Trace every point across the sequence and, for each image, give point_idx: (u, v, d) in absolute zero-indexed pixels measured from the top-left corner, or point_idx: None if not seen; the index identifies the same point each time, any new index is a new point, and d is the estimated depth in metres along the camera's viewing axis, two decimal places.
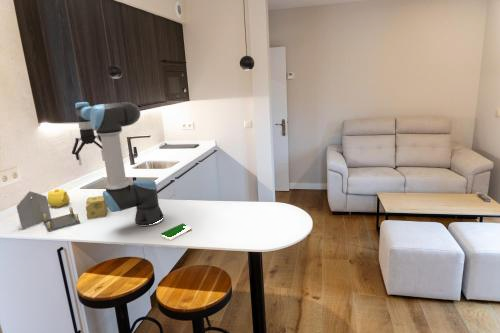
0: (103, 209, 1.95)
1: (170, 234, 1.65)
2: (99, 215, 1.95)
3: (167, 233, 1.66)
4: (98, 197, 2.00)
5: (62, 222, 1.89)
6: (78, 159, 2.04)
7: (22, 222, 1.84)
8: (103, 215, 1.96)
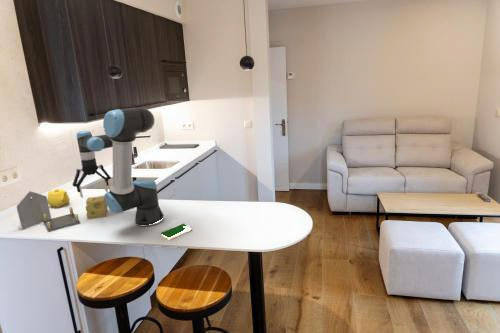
0: (103, 209, 1.95)
1: (169, 234, 1.65)
2: (99, 215, 1.95)
3: (166, 233, 1.67)
4: (98, 197, 2.00)
5: (62, 222, 1.89)
6: (79, 191, 1.91)
7: (22, 222, 1.84)
8: (103, 215, 1.96)
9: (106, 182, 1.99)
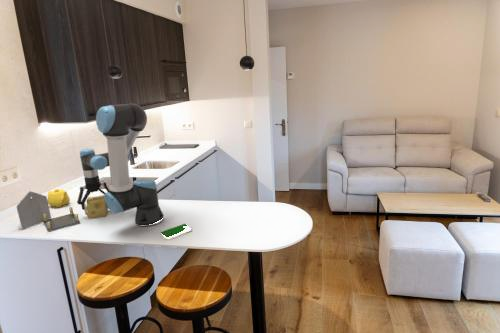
0: (104, 209, 1.95)
1: (168, 234, 1.65)
2: (100, 215, 1.96)
3: (166, 232, 1.67)
4: (98, 197, 2.00)
5: (62, 222, 1.89)
6: (84, 209, 1.94)
7: (22, 222, 1.84)
8: (104, 215, 1.96)
9: None
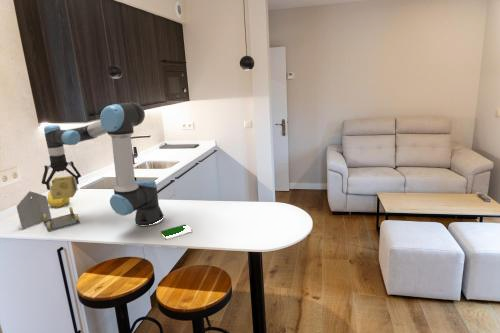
0: (70, 189, 1.84)
1: (167, 233, 1.66)
2: (66, 196, 1.85)
3: (165, 232, 1.68)
4: (65, 177, 1.89)
5: (62, 222, 1.89)
6: (49, 189, 1.83)
7: (22, 222, 1.84)
8: (70, 196, 1.85)
9: (76, 180, 1.91)
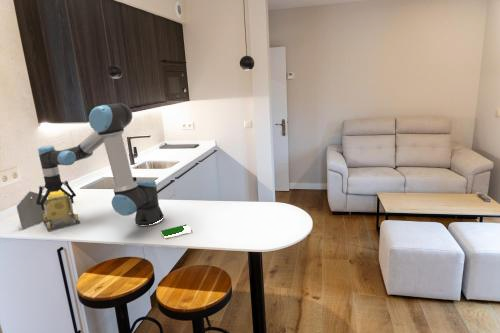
0: (65, 209, 1.85)
1: (166, 233, 1.66)
2: (61, 216, 1.85)
3: (165, 231, 1.68)
4: (60, 197, 1.89)
5: (62, 222, 1.89)
6: (43, 209, 1.83)
7: (22, 222, 1.84)
8: (65, 216, 1.86)
9: (71, 199, 1.91)
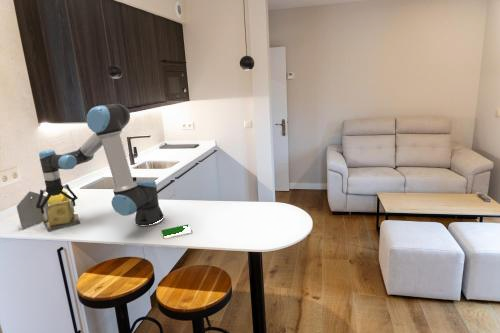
0: (67, 215, 1.86)
1: (166, 233, 1.67)
2: (62, 221, 1.86)
3: (165, 231, 1.68)
4: (62, 202, 1.90)
5: None
6: (43, 213, 1.83)
7: (22, 222, 1.84)
8: (67, 221, 1.87)
9: (73, 202, 1.92)
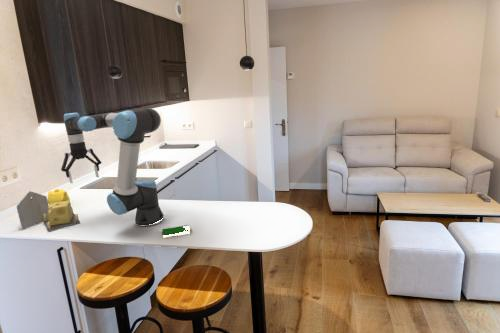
0: (67, 215, 1.86)
1: (165, 232, 1.67)
2: (62, 221, 1.86)
3: (165, 231, 1.69)
4: (62, 202, 1.90)
5: None
6: (68, 176, 1.82)
7: (22, 222, 1.84)
8: (67, 221, 1.87)
9: (97, 167, 1.91)
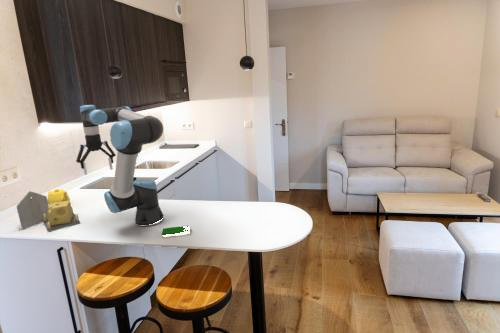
0: (67, 215, 1.86)
1: (165, 232, 1.68)
2: (62, 221, 1.86)
3: (165, 230, 1.69)
4: (62, 202, 1.90)
5: None
6: (83, 168, 1.84)
7: (22, 222, 1.84)
8: (67, 221, 1.87)
9: (111, 159, 1.93)
